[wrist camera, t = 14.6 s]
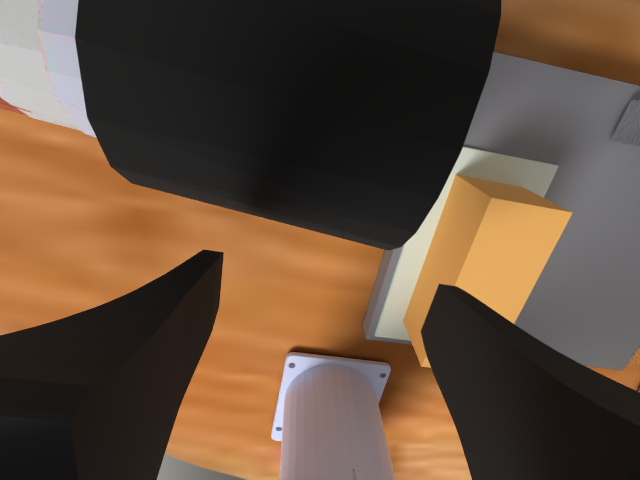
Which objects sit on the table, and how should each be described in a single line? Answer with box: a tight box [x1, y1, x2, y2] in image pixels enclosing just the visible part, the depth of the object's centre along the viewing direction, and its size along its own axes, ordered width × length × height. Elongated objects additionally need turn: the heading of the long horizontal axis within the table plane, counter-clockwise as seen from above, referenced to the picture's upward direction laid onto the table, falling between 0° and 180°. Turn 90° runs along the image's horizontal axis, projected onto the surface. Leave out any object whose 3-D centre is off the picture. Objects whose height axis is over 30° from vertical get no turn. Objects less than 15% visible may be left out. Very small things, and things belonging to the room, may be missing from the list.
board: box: [362, 52, 640, 370], centre depth 22 cm, size 18×20×2 cm
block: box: [403, 175, 573, 368], centre depth 19 cm, size 10×4×4 cm, turn 169°
